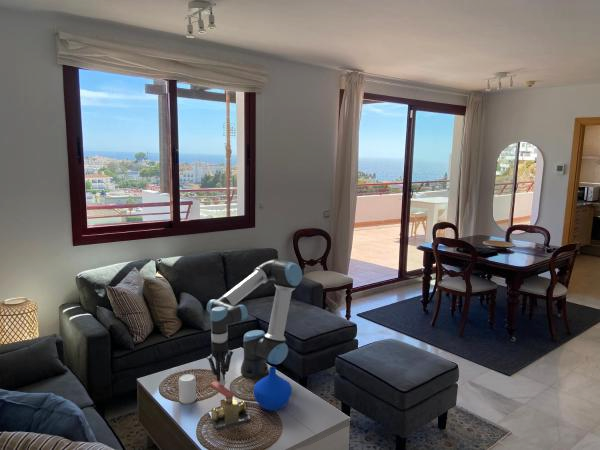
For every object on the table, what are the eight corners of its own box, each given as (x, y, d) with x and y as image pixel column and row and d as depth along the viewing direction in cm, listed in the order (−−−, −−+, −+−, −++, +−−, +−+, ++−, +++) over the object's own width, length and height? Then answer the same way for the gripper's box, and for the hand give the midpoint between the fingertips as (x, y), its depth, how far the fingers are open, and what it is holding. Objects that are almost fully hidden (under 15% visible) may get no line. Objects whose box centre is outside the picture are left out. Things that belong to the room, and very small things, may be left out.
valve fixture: (241, 406, 215) (241, 386, 213) (250, 420, 203) (250, 399, 202) (208, 414, 208) (208, 394, 206) (216, 429, 196) (216, 408, 195)
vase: (248, 399, 221) (248, 363, 218) (283, 391, 228) (283, 356, 225) (260, 419, 204) (260, 380, 201) (297, 410, 211) (297, 373, 208)
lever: (234, 396, 204) (234, 393, 203) (228, 399, 201) (228, 396, 201) (216, 383, 215) (215, 380, 214) (209, 386, 212) (209, 383, 212)
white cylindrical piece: (191, 405, 215) (191, 382, 213) (176, 403, 216) (175, 380, 214) (198, 396, 223) (198, 374, 221) (183, 394, 224) (183, 372, 222)
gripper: (228, 334, 215) (229, 379, 219) (203, 340, 208) (205, 387, 212) (235, 339, 209) (236, 385, 213) (210, 346, 202) (212, 394, 206)
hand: (220, 386), depth 212 cm, fingers closed
